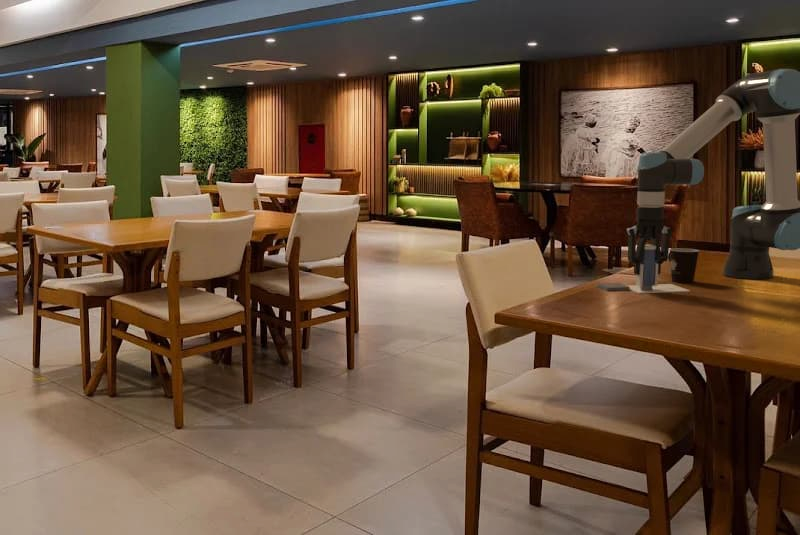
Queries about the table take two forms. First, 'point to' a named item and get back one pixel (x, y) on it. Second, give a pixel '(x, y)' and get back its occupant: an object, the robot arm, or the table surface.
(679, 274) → the coffee mug
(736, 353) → the table surface
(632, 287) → the paper
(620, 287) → the coaster
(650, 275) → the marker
